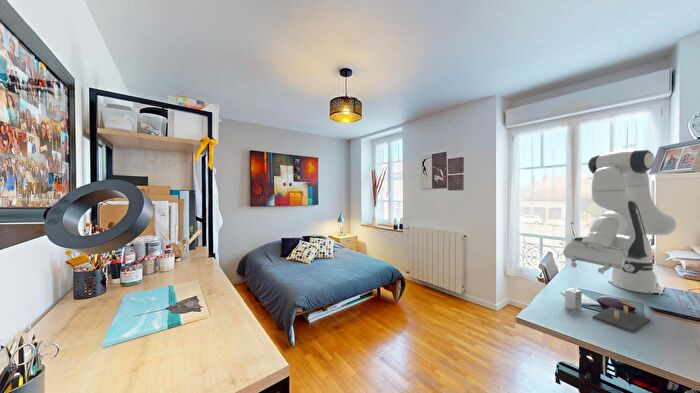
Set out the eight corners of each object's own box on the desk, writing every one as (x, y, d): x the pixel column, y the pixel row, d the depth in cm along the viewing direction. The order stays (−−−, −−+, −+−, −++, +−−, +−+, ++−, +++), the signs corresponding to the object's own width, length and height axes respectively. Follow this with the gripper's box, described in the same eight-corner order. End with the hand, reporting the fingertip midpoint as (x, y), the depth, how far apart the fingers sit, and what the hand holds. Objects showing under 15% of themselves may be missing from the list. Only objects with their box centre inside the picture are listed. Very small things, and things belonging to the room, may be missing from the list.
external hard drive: (580, 295, 120) (600, 307, 107) (560, 294, 121) (578, 306, 109) (580, 292, 120) (600, 303, 107) (560, 290, 121) (578, 302, 109)
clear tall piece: (570, 305, 109) (571, 287, 108) (581, 309, 105) (581, 290, 105) (564, 308, 107) (565, 289, 106) (575, 311, 103) (575, 293, 103)
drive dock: (610, 309, 105) (611, 298, 105) (650, 321, 95) (650, 310, 95) (592, 318, 98) (592, 307, 98) (633, 332, 88) (633, 320, 88)
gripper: (631, 254, 106) (621, 281, 102) (572, 245, 124) (561, 267, 120) (627, 245, 104) (616, 272, 100) (568, 237, 122) (556, 259, 118)
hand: (586, 269), depth 110 cm, fingers open, 8 cm apart
